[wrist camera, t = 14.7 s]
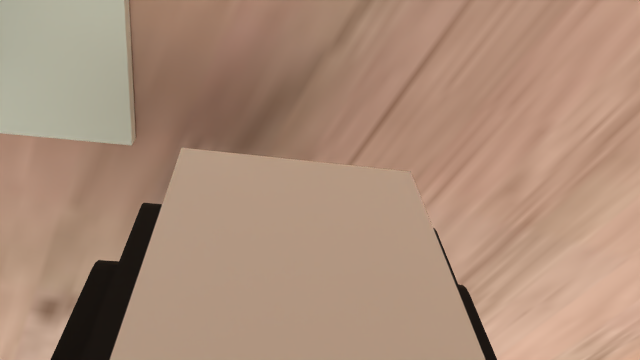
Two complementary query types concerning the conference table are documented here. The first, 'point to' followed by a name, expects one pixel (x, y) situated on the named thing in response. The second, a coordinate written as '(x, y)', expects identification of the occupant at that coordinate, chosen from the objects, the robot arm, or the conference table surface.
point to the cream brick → (293, 267)
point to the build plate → (67, 70)
